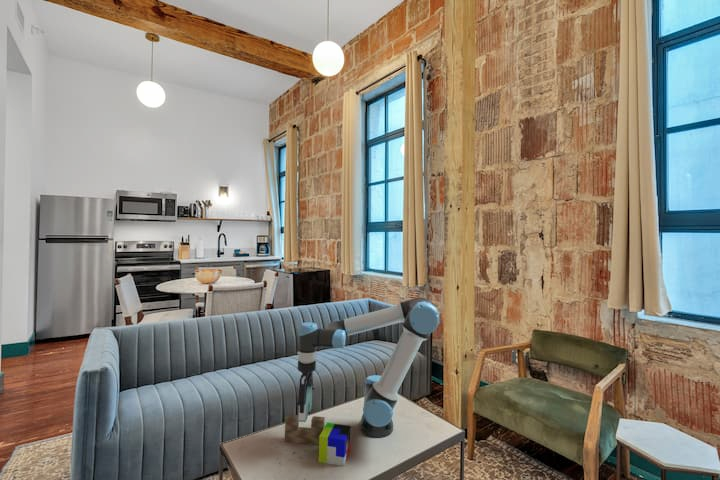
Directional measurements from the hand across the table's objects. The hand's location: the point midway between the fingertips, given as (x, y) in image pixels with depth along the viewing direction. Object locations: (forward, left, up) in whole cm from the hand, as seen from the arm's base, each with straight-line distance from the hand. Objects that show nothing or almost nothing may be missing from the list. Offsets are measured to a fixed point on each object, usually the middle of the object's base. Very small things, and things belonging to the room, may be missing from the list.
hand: (305, 412), depth 146 cm
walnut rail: (0, 0, -12) cm, 12 cm away
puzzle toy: (-14, +8, -13) cm, 20 cm away
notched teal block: (0, 0, -1) cm, 1 cm away
